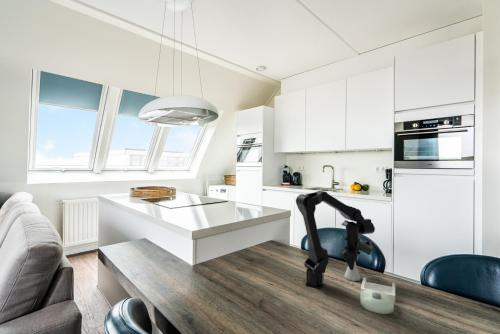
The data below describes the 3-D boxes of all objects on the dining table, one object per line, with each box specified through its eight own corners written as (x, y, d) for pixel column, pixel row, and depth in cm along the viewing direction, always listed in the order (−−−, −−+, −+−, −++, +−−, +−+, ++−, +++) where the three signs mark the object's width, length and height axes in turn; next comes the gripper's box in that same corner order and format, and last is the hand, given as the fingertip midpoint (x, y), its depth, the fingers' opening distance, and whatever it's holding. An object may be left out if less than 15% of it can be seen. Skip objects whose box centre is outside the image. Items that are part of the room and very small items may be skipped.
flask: (362, 282, 113) (362, 259, 113) (345, 280, 114) (345, 258, 114) (358, 275, 120) (358, 254, 120) (342, 274, 121) (342, 253, 121)
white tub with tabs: (357, 308, 92) (357, 297, 92) (363, 282, 113) (363, 273, 113) (395, 317, 87) (395, 305, 87) (395, 288, 107) (394, 279, 107)
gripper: (370, 243, 105) (370, 281, 105) (373, 232, 121) (373, 265, 121) (341, 239, 110) (341, 275, 110) (348, 229, 127) (348, 261, 127)
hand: (352, 269), depth 117 cm, fingers closed on flask, 3 cm apart
